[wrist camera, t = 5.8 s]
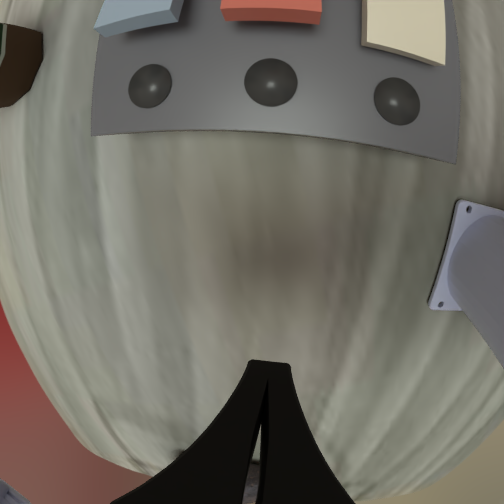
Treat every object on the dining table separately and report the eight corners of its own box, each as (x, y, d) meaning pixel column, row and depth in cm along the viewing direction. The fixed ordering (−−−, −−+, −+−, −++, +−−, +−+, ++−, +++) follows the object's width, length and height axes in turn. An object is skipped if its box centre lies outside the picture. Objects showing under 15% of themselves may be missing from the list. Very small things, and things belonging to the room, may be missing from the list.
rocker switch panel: (418, -19, 9) (442, -44, 5) (422, 156, 14) (457, 165, 10) (149, -32, 11) (121, -57, 7) (128, 133, 16) (88, 136, 12)
